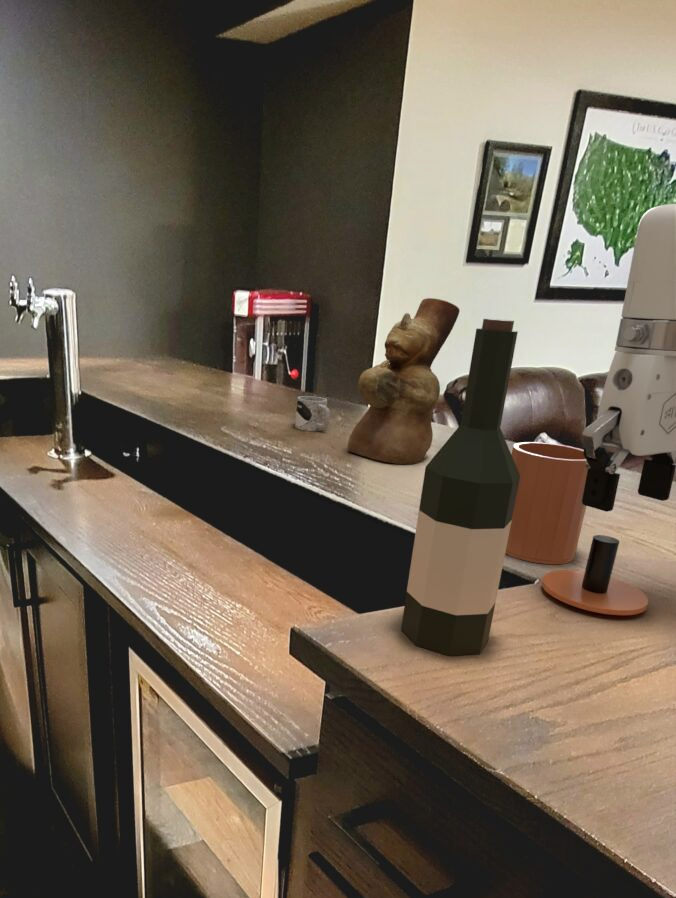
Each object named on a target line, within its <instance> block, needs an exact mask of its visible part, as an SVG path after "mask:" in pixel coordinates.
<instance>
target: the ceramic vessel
mask: <svg viewBox="0 0 676 898" xmlns="http://www.w3.org/2000/svg"><path fill="white" fill-rule="evenodd" d="M460 310H461V309H460V308H459V307H458V305H456V304H454V303H452V302H449V301H447V300H444V299H440V298H435V297H434V298H431V297H427V298H423V299H422V300H421V301H420V304H419V306H418V308H417V311H416V313H415V315H414V317H413V318H411V314H410V312H405V313H404V314H403V316H402V318H401V320H400V321H398V322H396V323H395V324H394V325H393V326H392V328H391V329H390V330H389V332H388V333H387V336H386V339H385V342H384V349H385V354H384V356H385V360H383V361H382V362H381V363H380V364H377V365H375V366H373V367H370V368H368V369H365V370H364V371H363V372H362V373H361V374H360V376H359V378H358V384H357V392H358V395H359V396H360V398H361V399H362V401H363V402H364V403H365V404H366V405H369V408H368V409H366V412H365V413H364V414H363V415H362V417H361V419H359V421H358V422H357V423H356V424H355V426H354V427H353V429H352V432H351V433H350V435H349V438H348V441H347V450H348V451H349V452H350V453H354V454H356V455H359V456H362V457H366V458H369V459H372V460H375V461H379V462H383V463H391V464H394V465H395V464H397V465H413V464H418V463H420V462H421V461H422V460H423V459H424V458H425V456H426V454H427V453H428V452H429V450H430V449H431V446H432V443H433V438H434V437H433V435H434V433H433V426H432V420H433V415H434V411H435V408H436V405H437V403H438V400H439V398H440V396H441V395H440V394H441V384H440V381H439V378H438V377H437V375H436V373H434V372H433V370H432V369H431V367H432V365H433V363H434V361H435V360H436V357H437V356H438V354H439V353H440V351H441V349H442V347H443V346H444V345H445V343H446V341H447V339H448V338H449V336H450V334H451V332H452V331H453V328H454V327H455V324H456V322H457V319H458V318H459V315H460Z"/></svg>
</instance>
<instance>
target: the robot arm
mask: <svg viewBox="0 0 676 898" xmlns="http://www.w3.org/2000/svg"><path fill="white" fill-rule="evenodd" d="M630 263H631V264H630V269H629V274H628V279H627V284H626V289H625V294H624V295H625V296H624V301H623V305H622V311H621V318H620V320H619V325H618V331H617V336H616V341H615V347H614V352H615V353H614V355H613V358H612V361H611V362H610V363H611V364H610V366H609V370H608V373H607V376H606V378H605V379H606V380H605V382H604V386H603V390H602V392H601V393H602V394H601V398H600V402H599V406H598V410H597V416H596V419H595V420H594V421H592V423H591V424H589V425H588V426H586V427H585V428H584V429H583V431H582V433H581V434H582V435H581V436H582V443H583V450H584V451H583V454H584V456H585V458H586V462H585V466H586V468H588V471H587V477H586V482H585V487H584V493H583V498H582V503H583V505H586V507H589V508H591V509H597V510H599V511H603V512H612V511H613V510H614V507H615V503H616V497H617V492H618V487H619V481H620V477H621V473H618V472H617V471H618V469H619V467H620V466H621V465H622V463H623V462H624V460H625V459H626V457H627V456H628V454H629V453H630V454H631V455H634V456H637V457H642V456H648V458H645V459H644V460H643V464H642V468H641V474H640V477H639V483H638V488H637V493H638V495H639V496H642V497H647V498H650V499H654V500H658V501H662V502H664V501H668V500H669V499H670V496H671V490H672V486H673V482H674V476H675V472H676V203H669V204H662V205H657V206H654V207H651V208H650V209H647V210H646V212H644V214H643V215H642V216H641V218H640V221H639V223H638V227H637V231H636V237H635V242H634V247H633V252H632V257H631V262H630ZM608 452H609V453H613V454H612V456H611V457H610V456H609V454H608Z"/></svg>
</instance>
